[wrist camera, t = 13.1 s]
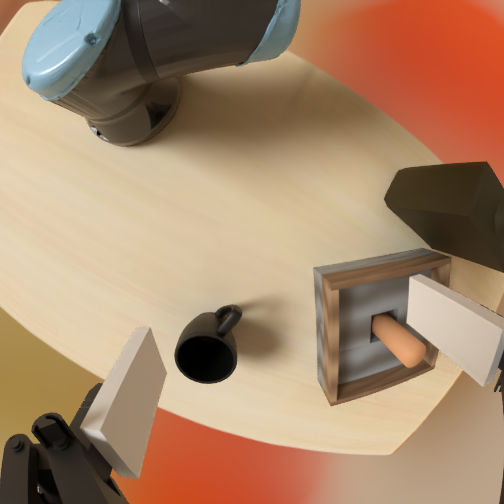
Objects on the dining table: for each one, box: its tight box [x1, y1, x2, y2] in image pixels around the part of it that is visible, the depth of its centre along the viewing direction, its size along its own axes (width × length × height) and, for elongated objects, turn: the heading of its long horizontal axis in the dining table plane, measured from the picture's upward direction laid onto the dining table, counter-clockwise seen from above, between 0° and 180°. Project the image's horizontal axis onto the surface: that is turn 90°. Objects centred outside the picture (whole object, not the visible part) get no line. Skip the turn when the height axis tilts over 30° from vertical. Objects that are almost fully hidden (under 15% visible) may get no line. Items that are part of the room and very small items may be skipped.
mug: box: [174, 305, 242, 384], centre depth 37 cm, size 8×12×10 cm
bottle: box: [384, 162, 504, 273], centre depth 29 cm, size 8×16×25 cm, turn 58°
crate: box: [313, 248, 451, 406], centre depth 40 cm, size 22×22×8 cm
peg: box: [371, 312, 426, 368], centre depth 37 cm, size 4×4×14 cm
